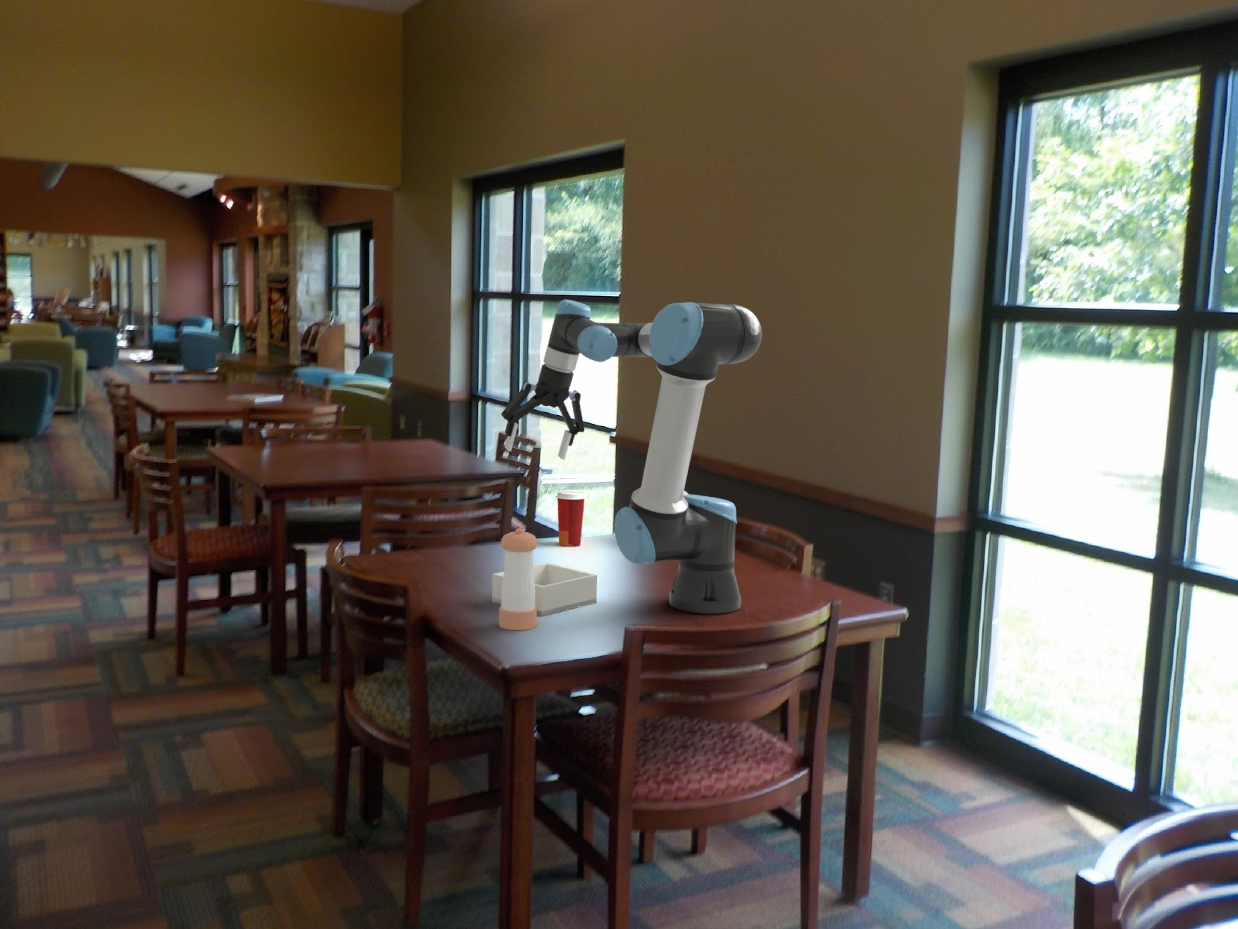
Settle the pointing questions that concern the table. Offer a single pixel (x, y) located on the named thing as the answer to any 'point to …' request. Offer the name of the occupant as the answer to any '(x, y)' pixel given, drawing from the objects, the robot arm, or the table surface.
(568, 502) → the paper cup
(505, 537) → the salt shaker
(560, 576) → the bin
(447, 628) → the table surface
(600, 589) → the table surface
